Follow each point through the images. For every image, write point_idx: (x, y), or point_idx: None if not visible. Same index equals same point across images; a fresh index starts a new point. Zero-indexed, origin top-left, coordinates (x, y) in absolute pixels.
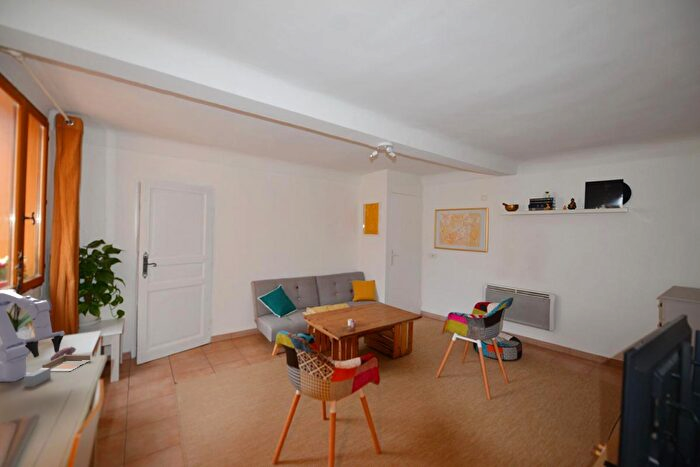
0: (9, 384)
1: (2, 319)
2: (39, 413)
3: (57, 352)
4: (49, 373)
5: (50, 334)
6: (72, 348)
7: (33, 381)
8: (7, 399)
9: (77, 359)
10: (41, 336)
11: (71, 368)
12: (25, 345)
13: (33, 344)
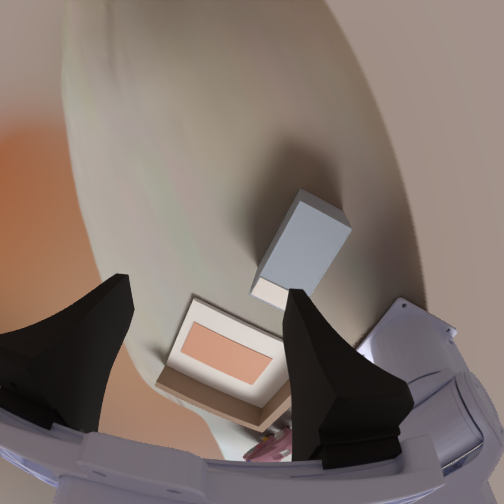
0: (411, 274)
1: None
2: None
3: (289, 450)
4: (256, 274)
5: (19, 453)
6: (249, 458)
7: (300, 194)
8: (360, 80)
9: (209, 392)
10: (118, 490)
11: (199, 324)
12: (408, 394)
13: (316, 417)
